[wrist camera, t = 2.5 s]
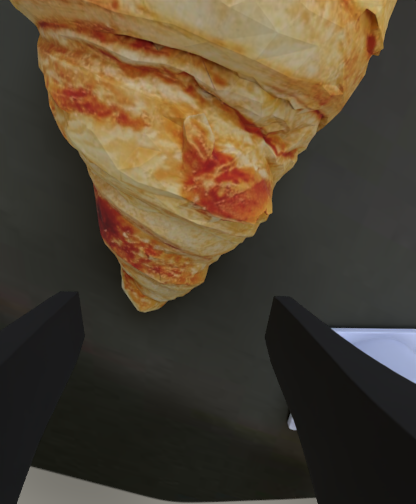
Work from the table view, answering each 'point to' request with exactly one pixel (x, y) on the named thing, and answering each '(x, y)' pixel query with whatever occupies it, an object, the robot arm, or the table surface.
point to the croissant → (195, 114)
